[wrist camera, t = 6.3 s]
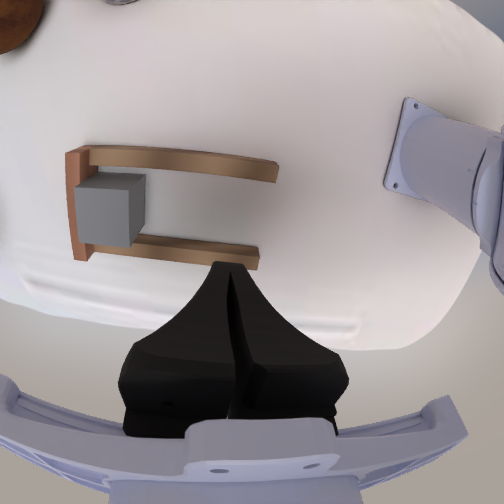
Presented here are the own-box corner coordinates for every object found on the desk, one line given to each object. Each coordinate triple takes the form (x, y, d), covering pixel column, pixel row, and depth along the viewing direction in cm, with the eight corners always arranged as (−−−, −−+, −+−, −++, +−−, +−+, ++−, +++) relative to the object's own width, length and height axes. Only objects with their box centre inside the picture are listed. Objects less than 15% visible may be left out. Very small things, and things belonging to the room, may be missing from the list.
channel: (275, 161, 19) (283, 171, 16) (255, 260, 23) (258, 281, 20) (85, 145, 17) (65, 153, 14) (88, 241, 21) (74, 259, 18)
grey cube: (145, 174, 19) (128, 190, 15) (144, 223, 21) (129, 248, 17) (98, 171, 18) (74, 187, 15) (100, 219, 20) (79, 242, 17)
